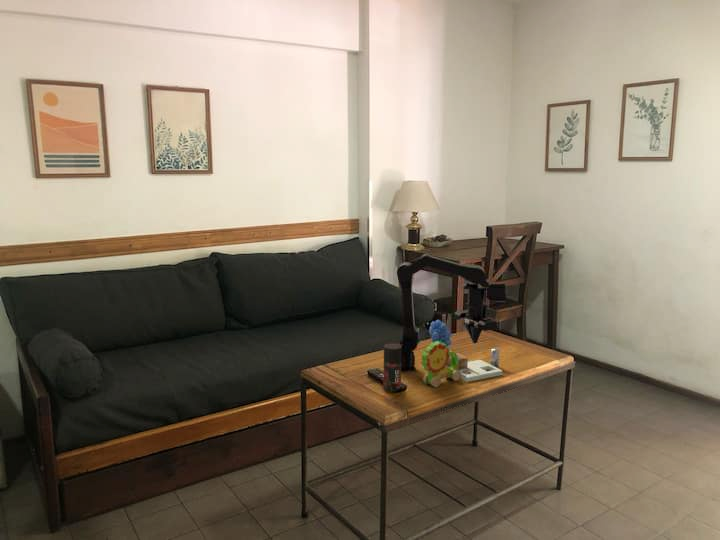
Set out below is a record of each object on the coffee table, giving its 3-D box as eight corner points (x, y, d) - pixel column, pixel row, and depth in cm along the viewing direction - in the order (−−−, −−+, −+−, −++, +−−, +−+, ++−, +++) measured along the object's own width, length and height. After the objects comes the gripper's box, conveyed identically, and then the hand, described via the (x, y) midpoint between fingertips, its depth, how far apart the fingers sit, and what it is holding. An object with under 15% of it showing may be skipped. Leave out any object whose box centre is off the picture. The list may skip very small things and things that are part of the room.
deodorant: (390, 383, 202) (390, 342, 199) (404, 388, 199) (405, 345, 196) (379, 388, 198) (380, 346, 195) (393, 393, 194) (394, 350, 191)
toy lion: (450, 375, 210) (452, 335, 208) (461, 380, 206) (463, 339, 203) (417, 385, 201) (418, 343, 198) (428, 390, 197) (429, 347, 194)
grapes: (422, 347, 242) (422, 319, 240) (433, 344, 246) (434, 316, 244) (443, 354, 233) (444, 325, 231) (454, 350, 237) (455, 322, 235)
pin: (493, 369, 217) (494, 351, 216) (488, 366, 220) (489, 348, 218) (500, 367, 218) (501, 350, 217) (495, 365, 221) (495, 347, 220)
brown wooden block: (453, 369, 211) (454, 360, 210) (444, 364, 216) (444, 355, 215) (467, 367, 213) (467, 357, 213) (457, 361, 219) (457, 353, 218)
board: (466, 382, 204) (466, 376, 204) (445, 370, 216) (445, 365, 215) (502, 374, 211) (502, 369, 211) (479, 363, 223) (480, 358, 222)
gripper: (511, 303, 203) (509, 346, 206) (478, 293, 220) (477, 333, 222) (485, 307, 198) (484, 351, 201) (453, 296, 215) (453, 337, 218)
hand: (474, 342), depth 211 cm, fingers closed
